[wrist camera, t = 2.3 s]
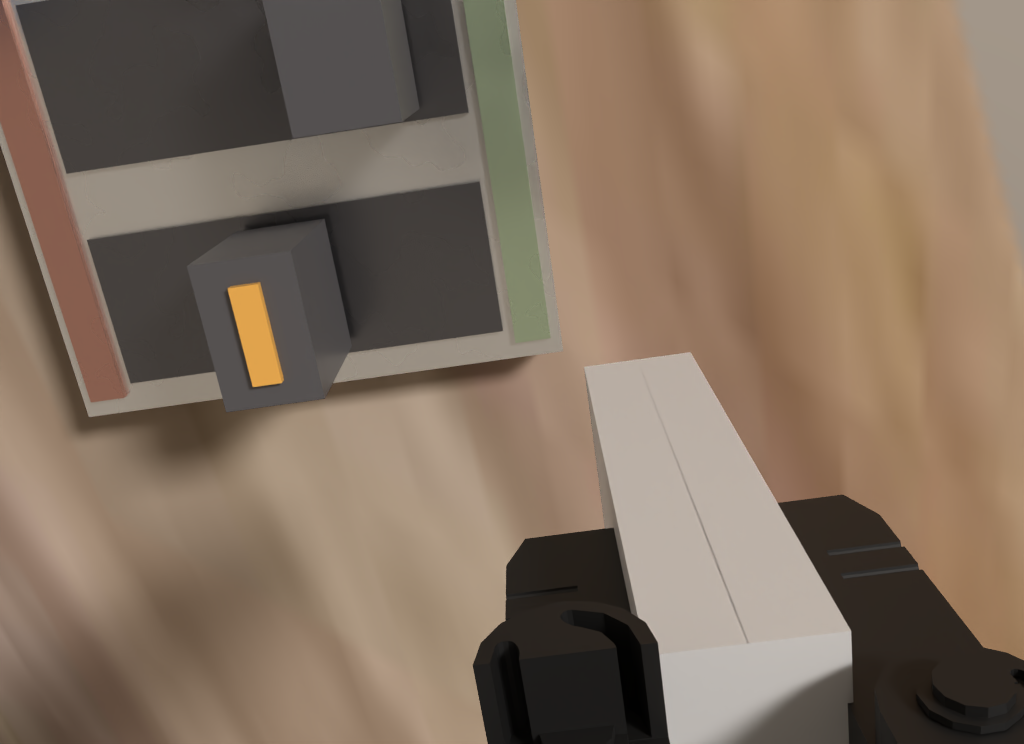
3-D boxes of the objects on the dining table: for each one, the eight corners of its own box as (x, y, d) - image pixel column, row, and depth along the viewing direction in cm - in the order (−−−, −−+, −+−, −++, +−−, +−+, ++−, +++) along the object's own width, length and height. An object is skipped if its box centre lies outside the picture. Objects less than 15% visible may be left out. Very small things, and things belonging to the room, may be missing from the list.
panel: (-93, -278, 23) (-152, -309, 21) (463, -377, 22) (458, -419, 20) (116, 392, 29) (86, 419, 27) (559, 330, 28) (563, 353, 26)
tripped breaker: (236, 231, 25) (183, 268, 21) (324, 218, 25) (288, 252, 21) (267, 358, 26) (223, 415, 22) (352, 346, 26) (323, 401, 22)
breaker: (296, -29, 23) (253, -42, 19) (393, -45, 22) (369, -61, 19) (327, 123, 24) (292, 138, 20) (419, 108, 24) (402, 121, 20)
